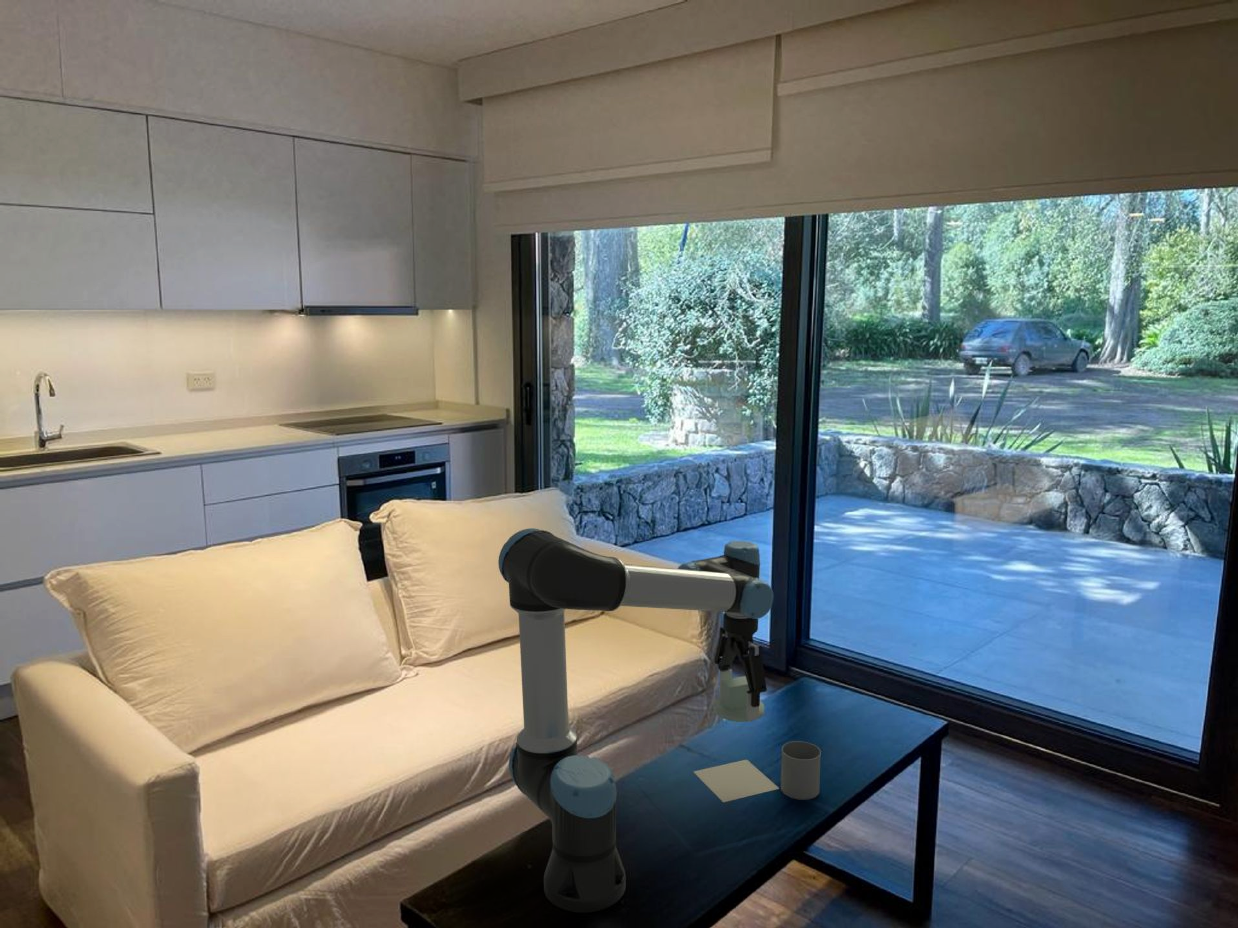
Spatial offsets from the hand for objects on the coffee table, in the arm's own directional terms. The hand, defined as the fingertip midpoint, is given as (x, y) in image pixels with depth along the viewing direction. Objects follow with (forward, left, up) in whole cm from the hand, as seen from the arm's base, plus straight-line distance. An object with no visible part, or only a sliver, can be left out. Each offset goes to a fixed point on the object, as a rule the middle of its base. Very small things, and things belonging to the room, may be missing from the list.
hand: (738, 708), depth 205 cm
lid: (0, 0, 0) cm, 0 cm away
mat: (0, 0, -18) cm, 18 cm away
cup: (+11, -9, -18) cm, 23 cm away
